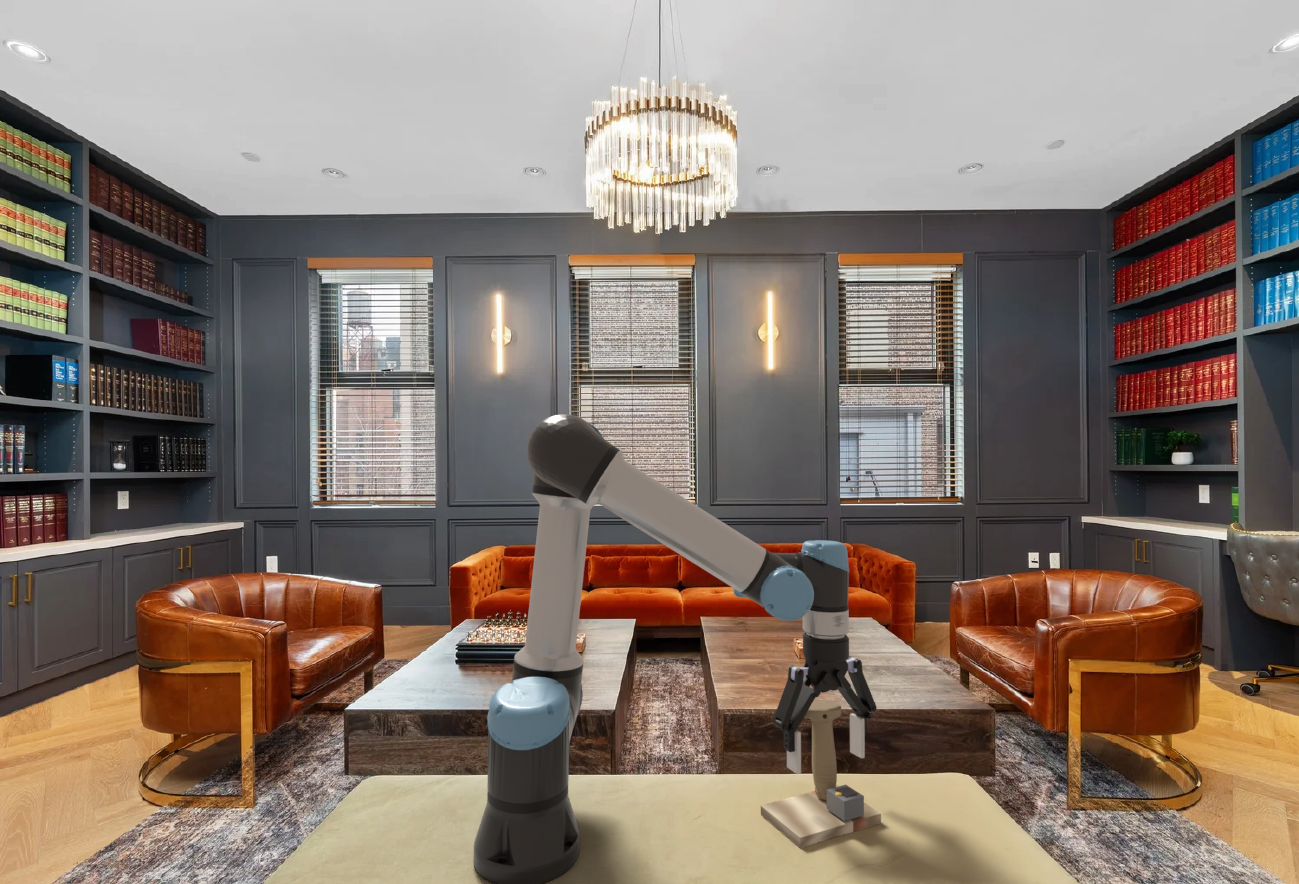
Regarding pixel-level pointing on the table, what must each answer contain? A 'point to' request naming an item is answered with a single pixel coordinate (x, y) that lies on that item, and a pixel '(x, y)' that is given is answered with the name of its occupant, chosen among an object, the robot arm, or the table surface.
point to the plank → (813, 819)
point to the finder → (845, 802)
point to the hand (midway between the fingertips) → (826, 762)
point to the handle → (823, 745)
